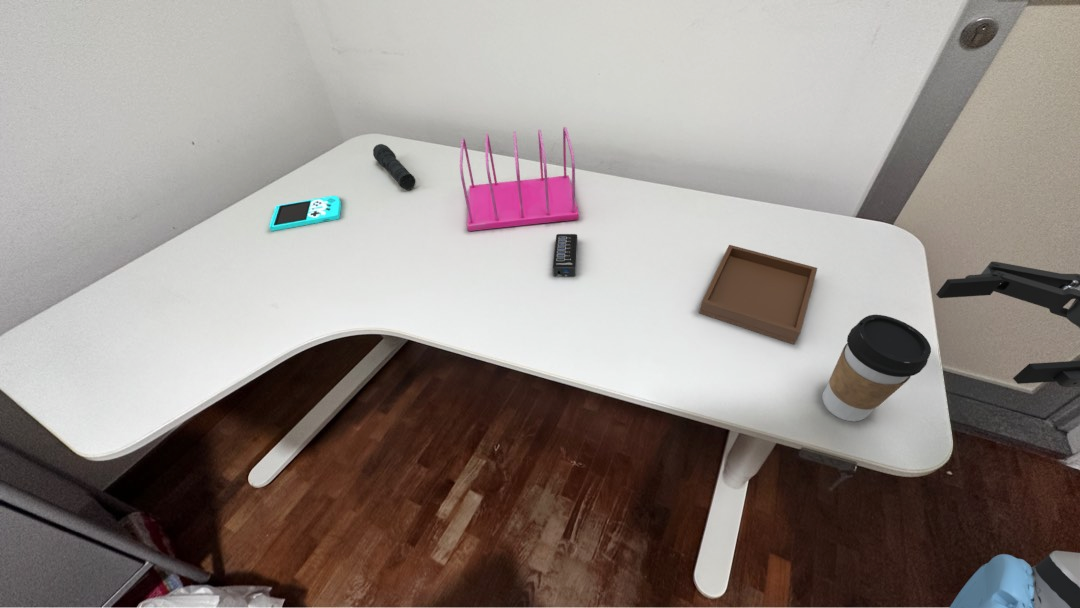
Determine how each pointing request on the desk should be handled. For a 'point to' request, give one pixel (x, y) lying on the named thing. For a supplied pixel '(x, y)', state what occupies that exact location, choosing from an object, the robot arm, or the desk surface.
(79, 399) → the desk surface
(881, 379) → the coffee cup
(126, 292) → the desk surface
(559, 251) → the multiport hub
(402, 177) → the flashlight
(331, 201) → the handheld game console
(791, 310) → the tray
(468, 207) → the file sorter
